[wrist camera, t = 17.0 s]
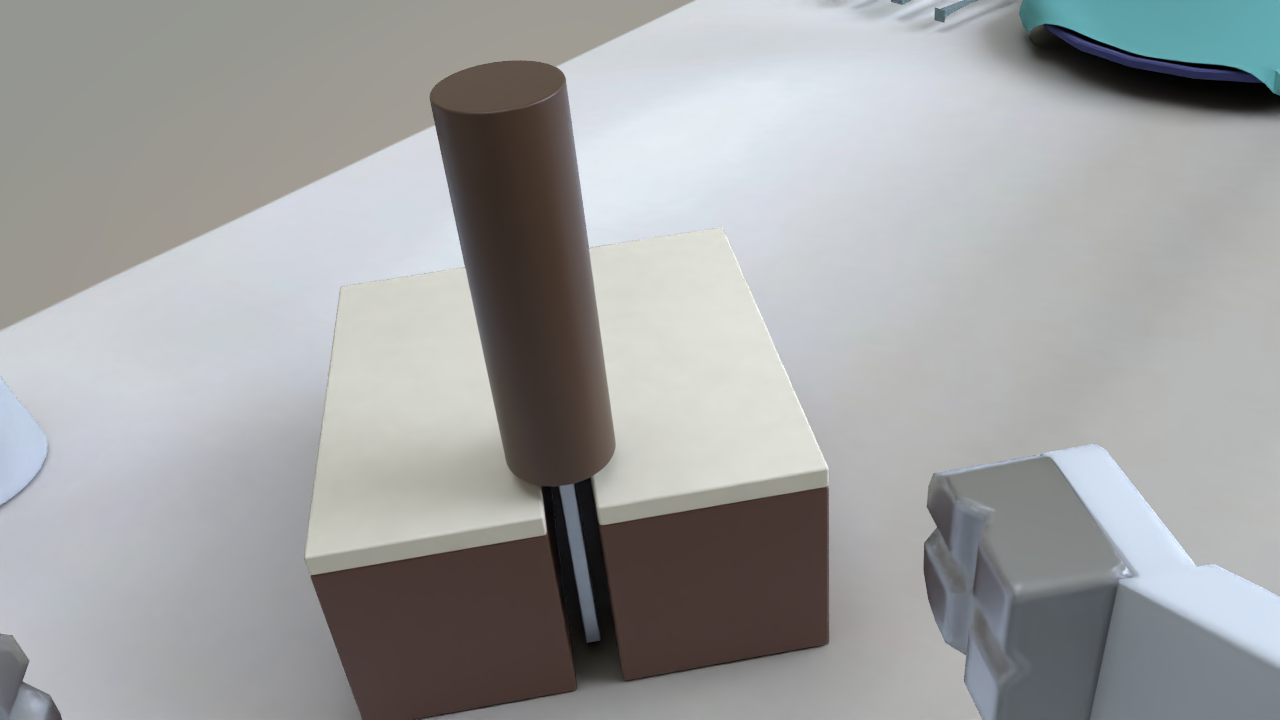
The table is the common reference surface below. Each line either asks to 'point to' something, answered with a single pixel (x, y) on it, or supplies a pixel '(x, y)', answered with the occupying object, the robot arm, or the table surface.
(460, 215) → the knife
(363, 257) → the table surface
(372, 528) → the cake
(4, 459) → the beer glass
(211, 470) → the table surface
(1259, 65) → the cutlery set
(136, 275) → the table surface
